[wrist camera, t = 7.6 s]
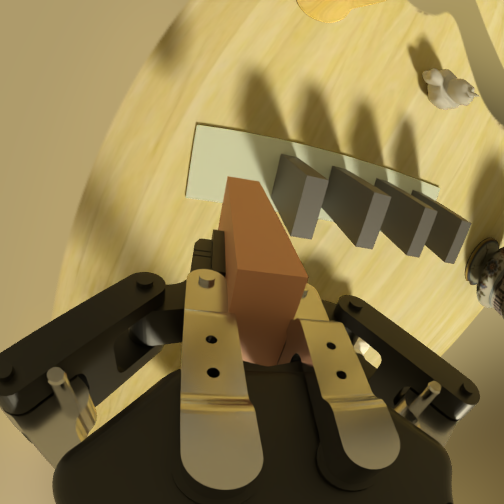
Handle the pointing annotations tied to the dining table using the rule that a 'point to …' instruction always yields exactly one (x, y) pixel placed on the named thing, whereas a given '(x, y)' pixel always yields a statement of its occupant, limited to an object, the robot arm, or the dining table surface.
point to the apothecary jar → (488, 274)
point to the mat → (272, 164)
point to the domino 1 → (259, 271)
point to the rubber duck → (447, 89)
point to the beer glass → (332, 8)
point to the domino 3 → (355, 206)
